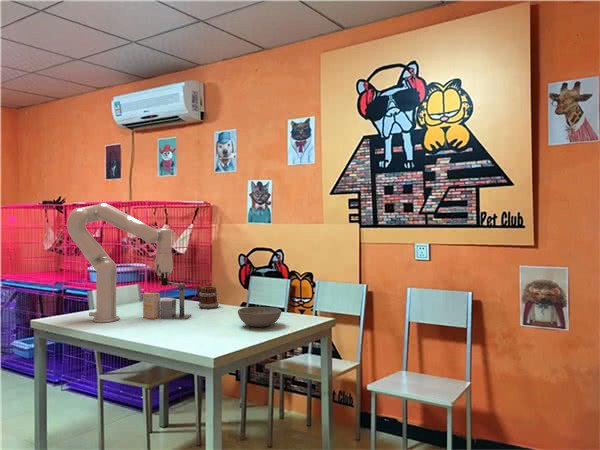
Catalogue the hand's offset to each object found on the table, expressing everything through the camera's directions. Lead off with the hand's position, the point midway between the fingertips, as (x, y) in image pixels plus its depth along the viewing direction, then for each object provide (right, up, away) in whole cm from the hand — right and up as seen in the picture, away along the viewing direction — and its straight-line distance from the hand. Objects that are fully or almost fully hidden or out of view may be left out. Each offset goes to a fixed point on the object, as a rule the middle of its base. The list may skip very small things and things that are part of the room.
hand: (164, 285), depth 260 cm
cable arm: (+5, 0, -1) cm, 5 cm away
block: (+4, -16, -5) cm, 17 cm away
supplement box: (-5, -17, -6) cm, 18 cm away
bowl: (+53, -17, -27) cm, 62 cm away
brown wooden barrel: (+18, -16, +24) cm, 34 cm away
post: (+11, -16, -7) cm, 21 cm away
